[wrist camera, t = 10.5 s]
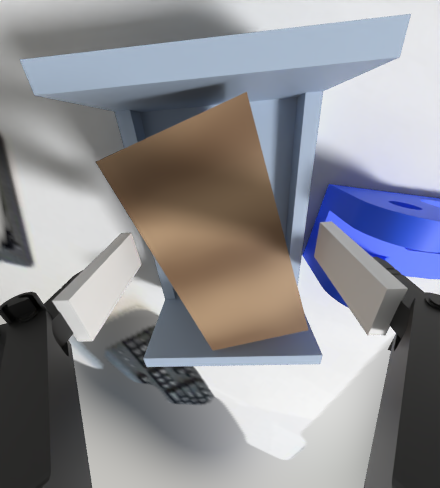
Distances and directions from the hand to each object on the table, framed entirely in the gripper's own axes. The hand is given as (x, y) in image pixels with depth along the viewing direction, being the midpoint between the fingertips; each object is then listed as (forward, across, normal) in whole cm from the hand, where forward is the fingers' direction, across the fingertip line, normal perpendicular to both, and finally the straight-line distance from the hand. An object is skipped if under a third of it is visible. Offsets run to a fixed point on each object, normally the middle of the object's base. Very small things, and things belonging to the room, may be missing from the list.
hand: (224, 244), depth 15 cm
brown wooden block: (+4, 0, 0) cm, 4 cm away
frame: (+8, 0, 0) cm, 8 cm away
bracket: (+8, +18, -4) cm, 21 cm away
